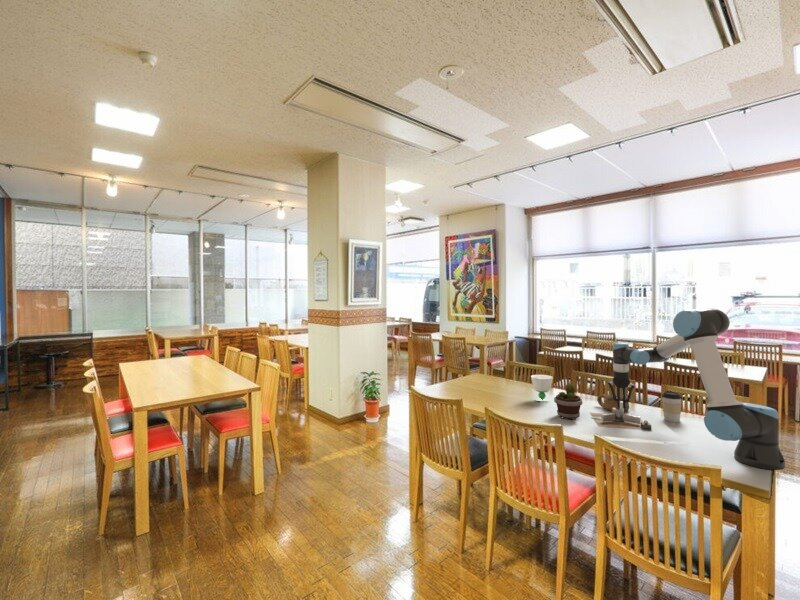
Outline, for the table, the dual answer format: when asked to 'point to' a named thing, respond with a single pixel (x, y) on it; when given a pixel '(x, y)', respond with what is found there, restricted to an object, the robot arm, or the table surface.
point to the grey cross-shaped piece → (620, 417)
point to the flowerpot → (568, 403)
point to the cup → (541, 384)
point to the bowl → (610, 402)
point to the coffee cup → (671, 406)
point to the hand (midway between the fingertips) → (621, 413)
